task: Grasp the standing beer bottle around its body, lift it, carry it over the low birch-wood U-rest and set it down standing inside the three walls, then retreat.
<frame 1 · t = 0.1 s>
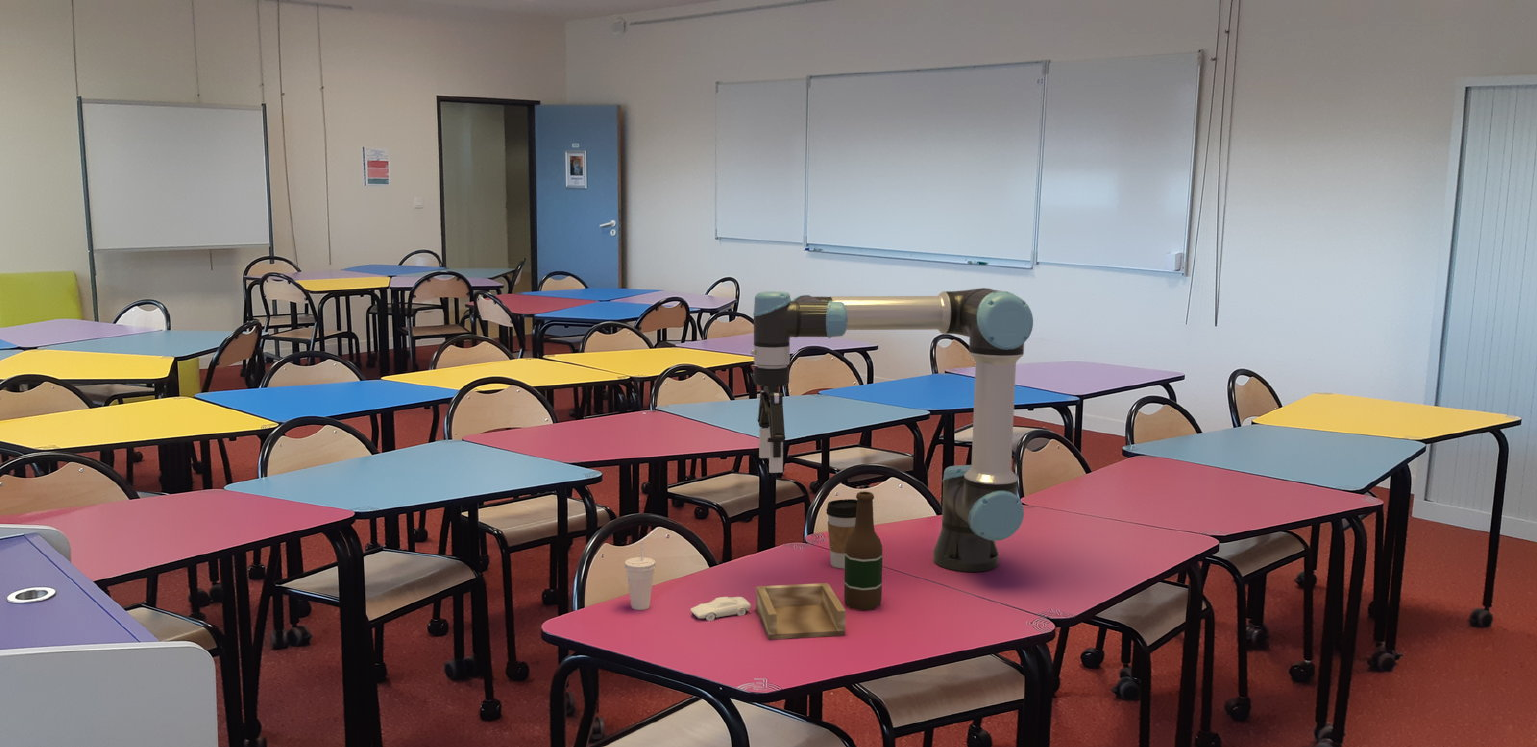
hand: (770, 464, 233), 28 cm above the table, fingers open, 13 cm apart
beer bottle: (862, 605, 229), on the table
toy car: (720, 615, 223), on the table
coffee cup: (843, 565, 255), on the table
u rest: (799, 622, 219), on the table
smoothie: (640, 607, 227), on the table
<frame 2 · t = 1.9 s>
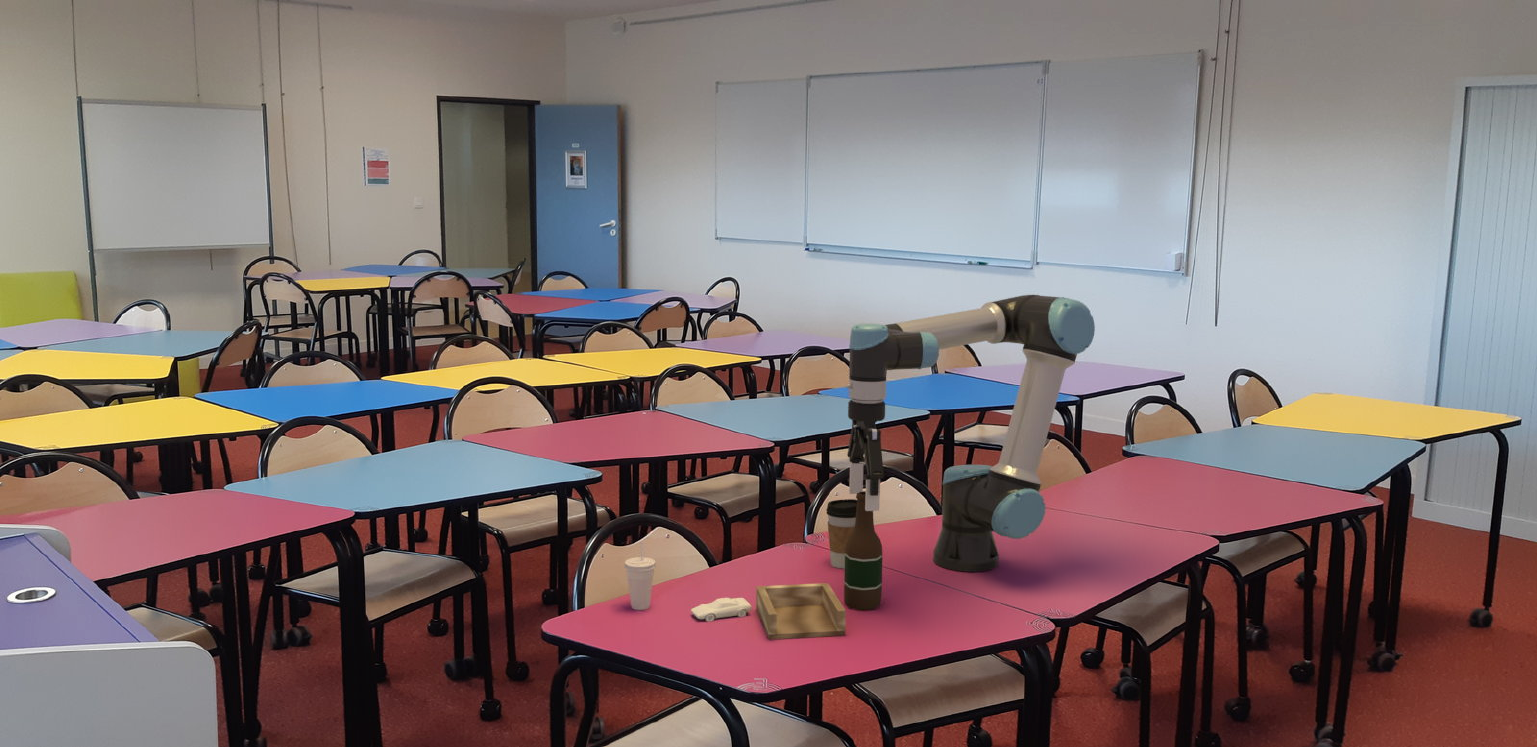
hand: (863, 501, 226), 22 cm above the table, fingers open, 13 cm apart
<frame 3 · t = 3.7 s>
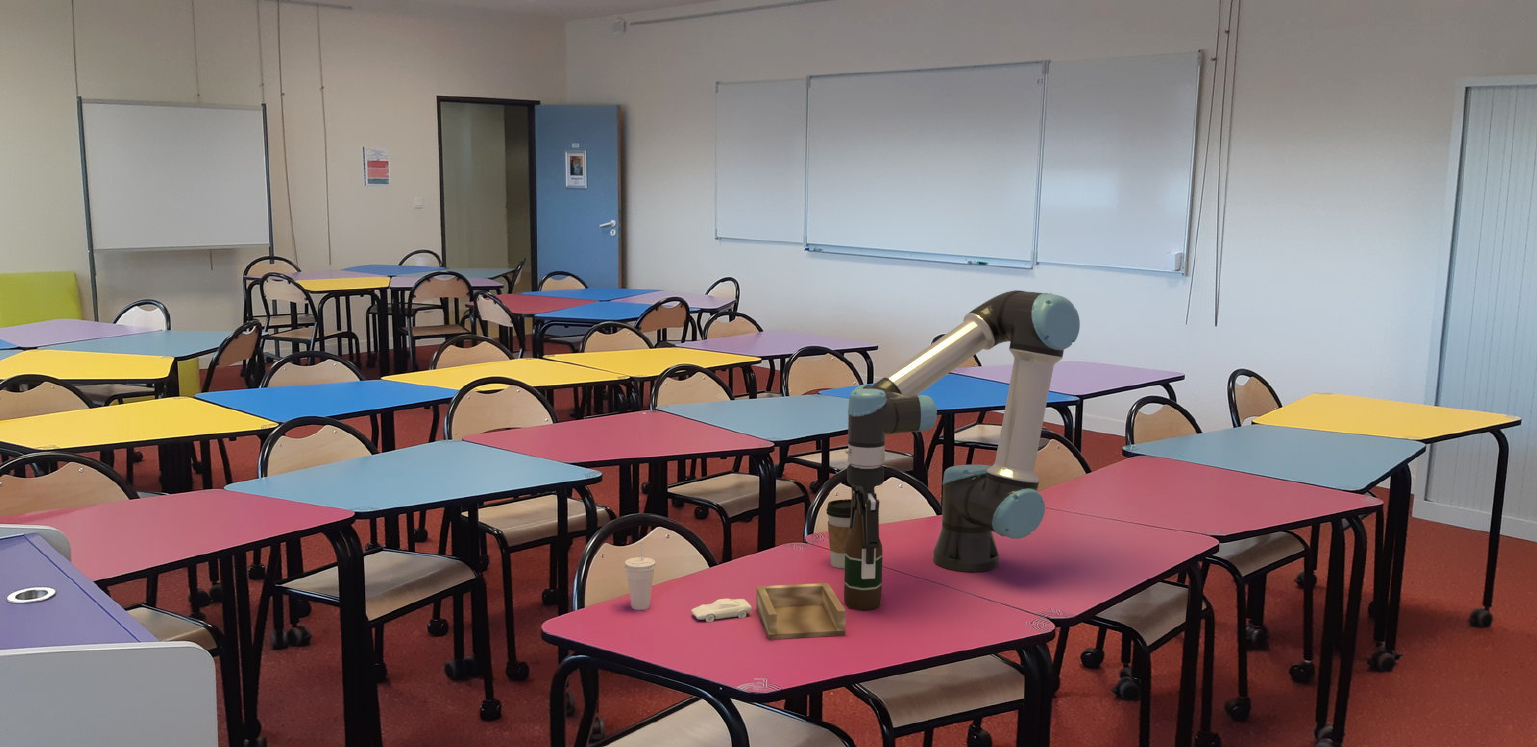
hand: (863, 571, 228), 7 cm above the table, fingers closed on beer bottle, 7 cm apart
beer bottle: (862, 605, 229), on the table, touching gripper
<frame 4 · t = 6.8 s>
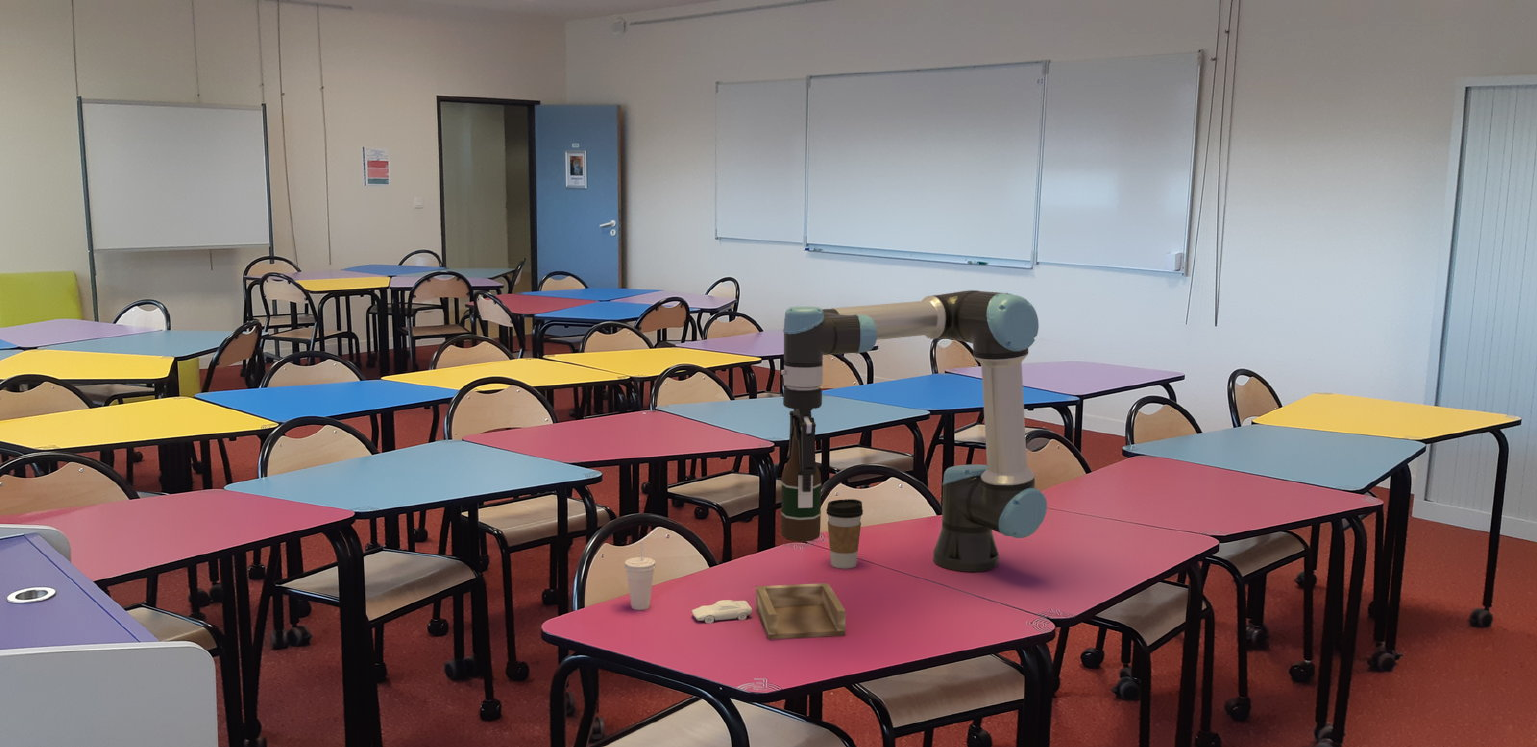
hand: (801, 501, 215), 25 cm above the table, fingers closed on beer bottle, 7 cm apart
beer bottle: (800, 537, 216), point 18 cm above the table, touching gripper
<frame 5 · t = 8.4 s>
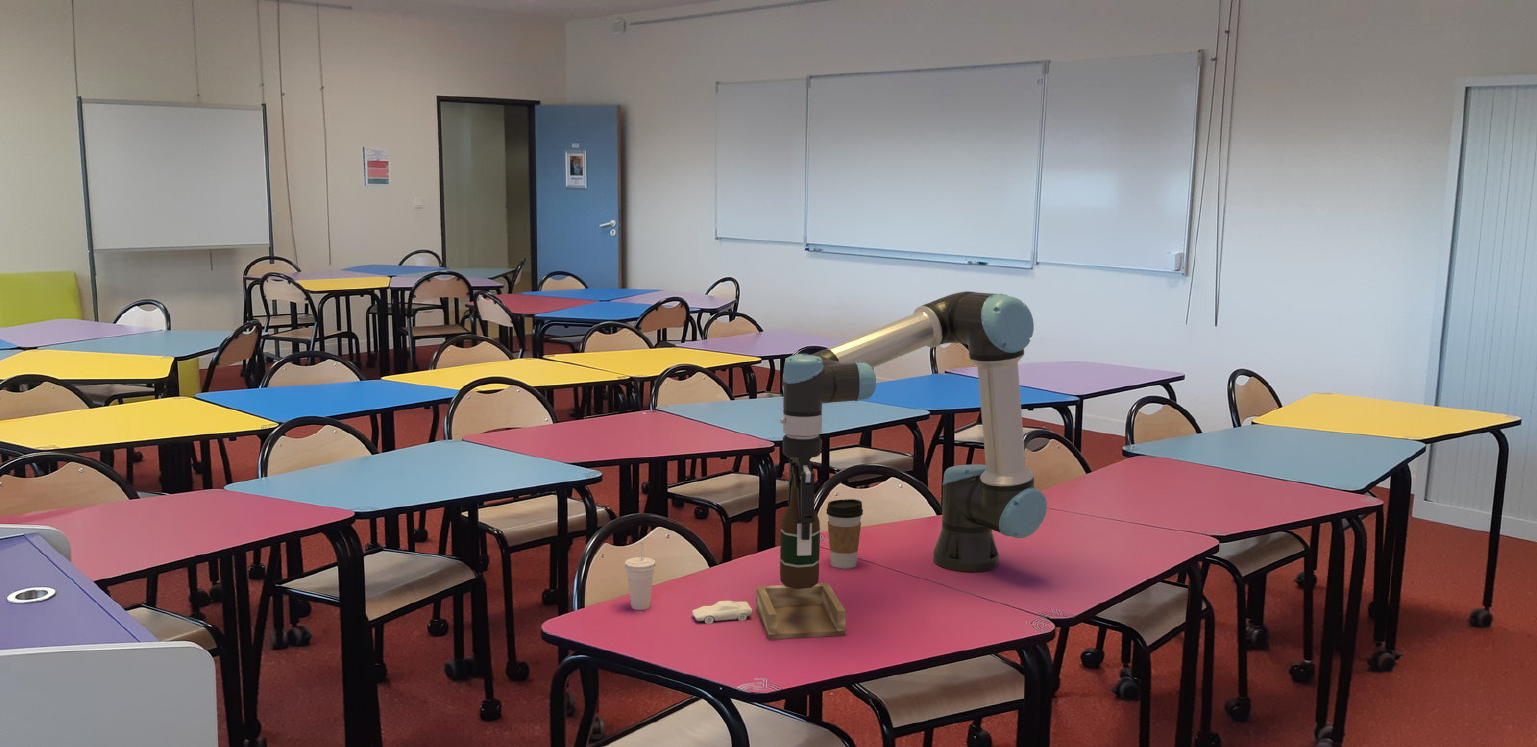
hand: (800, 548, 217), 15 cm above the table, fingers closed on beer bottle, 7 cm apart
beer bottle: (799, 583, 218), point 8 cm above the table, touching gripper
when the fingers open (10 cm above the table, at t = 9.9 s): beer bottle drops 1 cm, resting on u rest.
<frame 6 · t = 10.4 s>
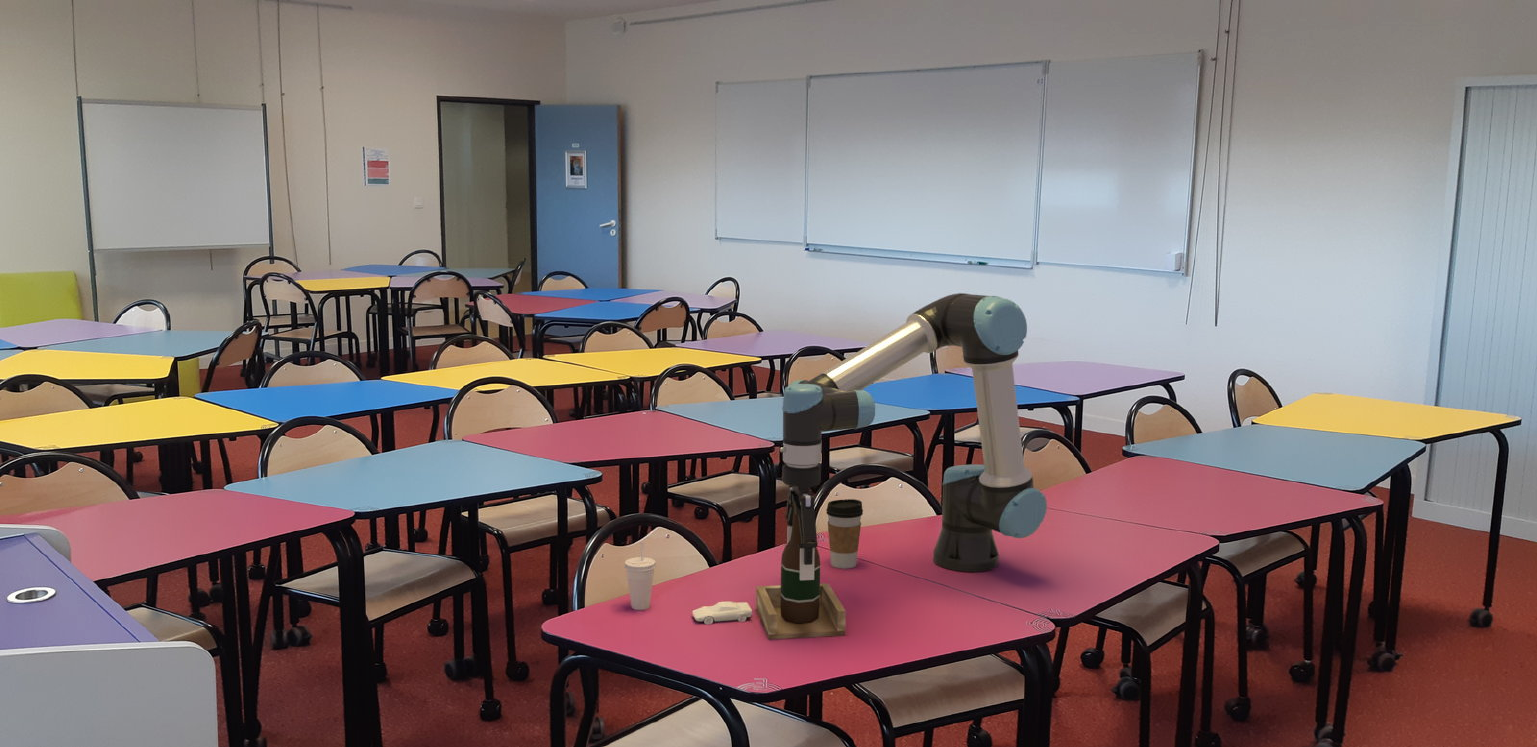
hand: (800, 568, 217), 11 cm above the table, fingers open, 13 cm apart
beer bottle: (799, 618, 219), point 1 cm above the table, touching u rest
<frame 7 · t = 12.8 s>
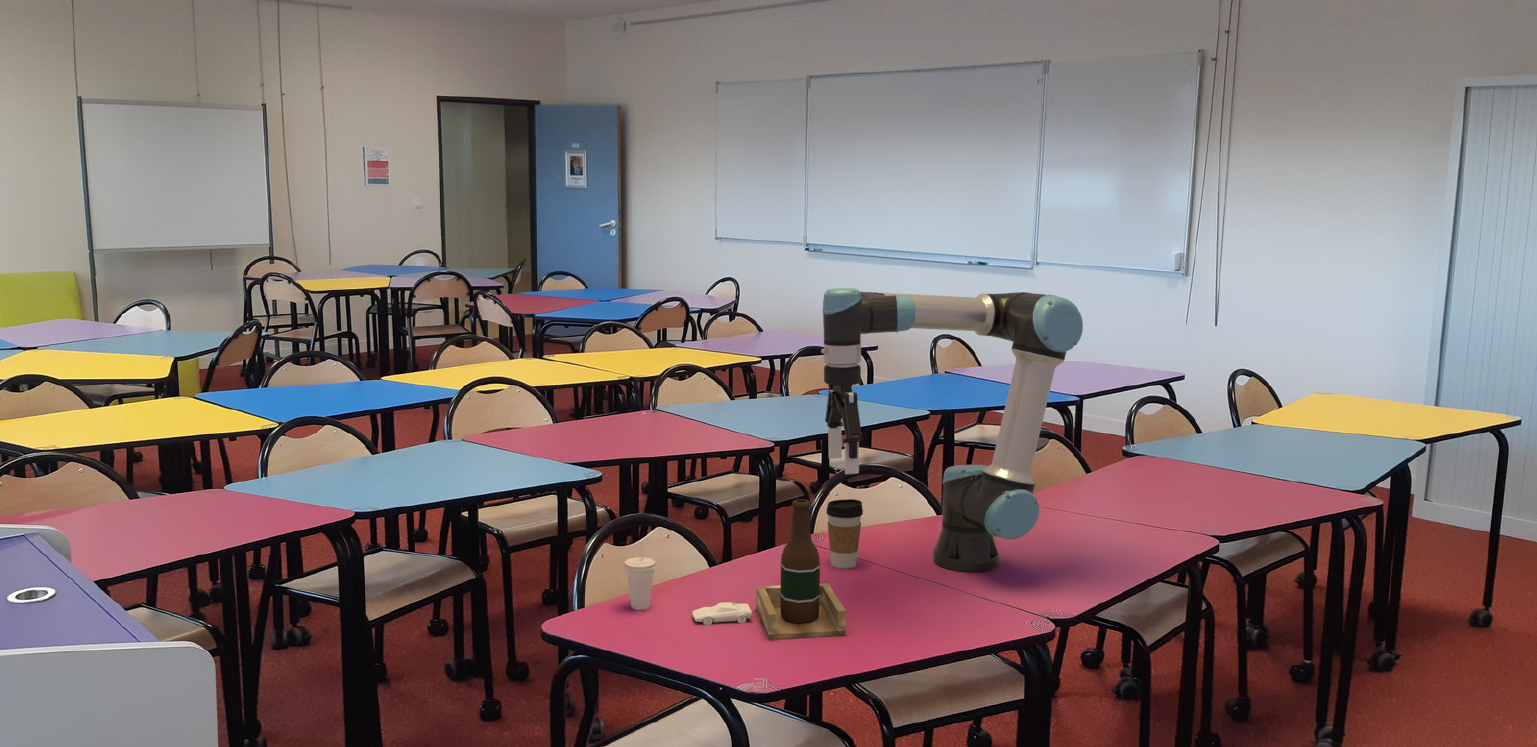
hand: (843, 465, 227), 29 cm above the table, fingers open, 13 cm apart
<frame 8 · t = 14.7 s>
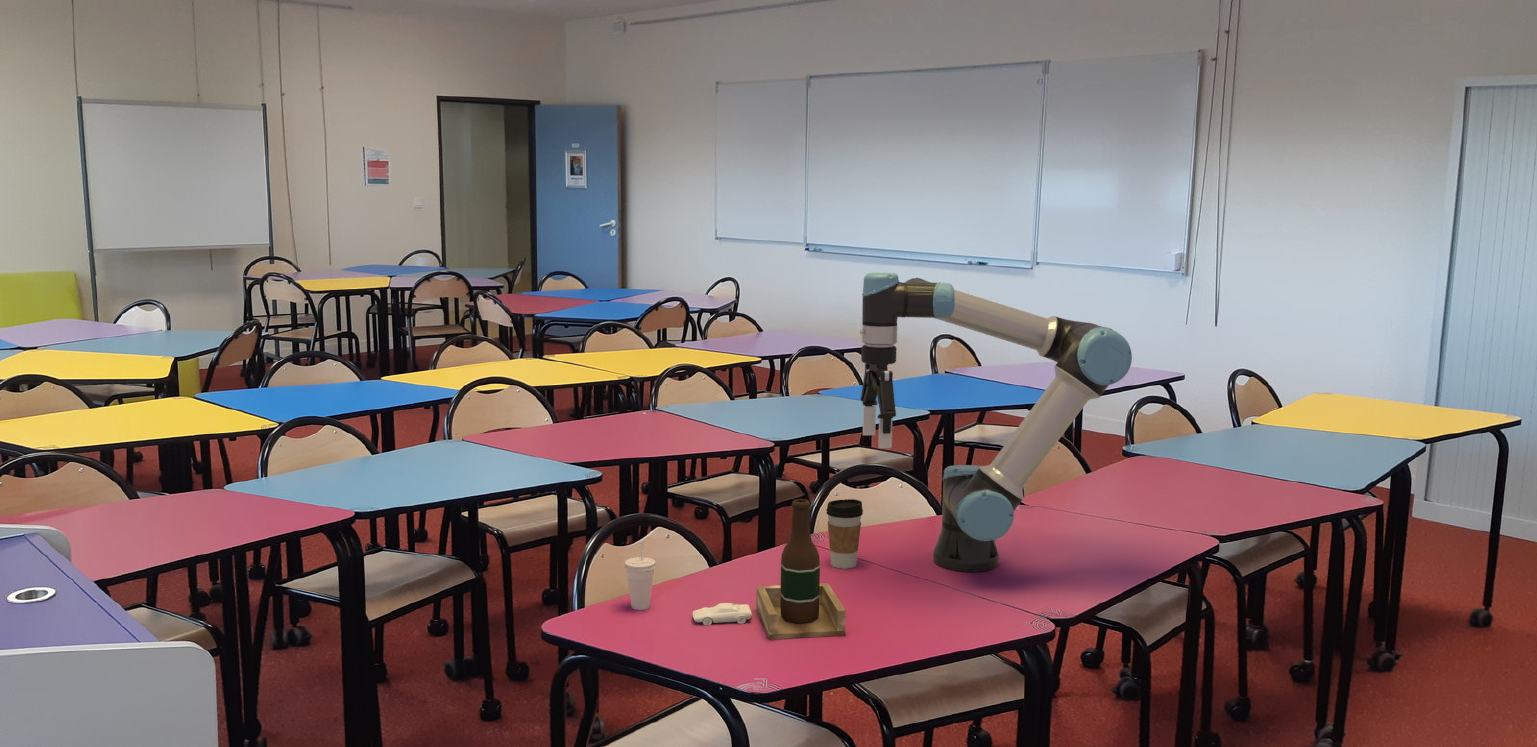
hand: (876, 441, 239), 32 cm above the table, fingers open, 13 cm apart
at the end: beer bottle inside the target area on the u rest (0.2 cm from its centre), point 0.8 cm above the u rest's base; beer bottle tilted 0°; the gripper is holding nothing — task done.
